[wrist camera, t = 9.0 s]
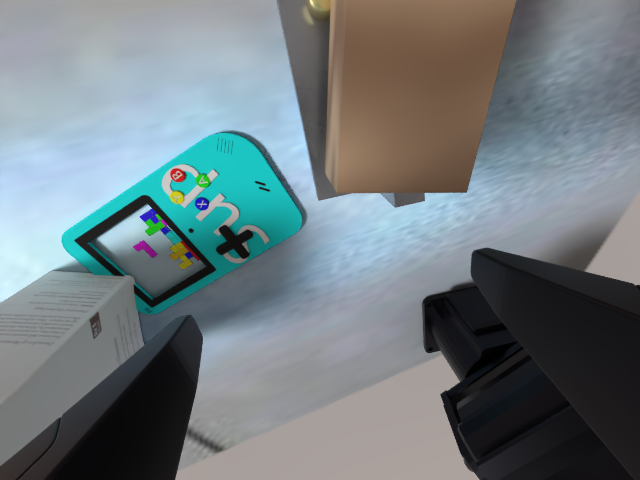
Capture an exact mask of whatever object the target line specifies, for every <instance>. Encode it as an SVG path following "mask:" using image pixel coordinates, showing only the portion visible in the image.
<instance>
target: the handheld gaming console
mask: <svg viewBox="0 0 640 480" xmlns="http://www.w3.org/2000/svg"><path fill="white" fill-rule="evenodd" d="M146 203H148V204H149V206H150V207H151V208H152V209H151V210H149V211H147V212H146V213H144V214H143V215H141V216H140V218H141V219H142V220H143V221H144V222H145V223H146V224H147V225H148V226H149V227H150V228H148V229H147V230H145V232H146V233H147V234H148V235H149V236H151V235H152V234H154V233H155V232H157V231H159V230H161V231H162V232H163V233H164V234H165V235H166V236H167V237H168V238H169V239H171V242H172V243H173V244H174V246H172V247H170V249H171V250H172V251H173V252H174V253H173V254H171V255H170V257H171V258H172V259H173V260H176V259H177V258H180V259H181V260H182V261H183V263H181V264H179V266H180V267H181V268H182V269H185V268H187V267H188V266H190V265H192V264H193V263H192V262H191V261H190V260H189V259H190V258H191V257H193V256H194V257H195V258H196V259H197V260H198V261H199V260H201V261H202V262H203V263H204V264H205V265H206V266H207V267H205V268H203V269H202V270H200V271H198V272H197V273H195V274H194V275H192V276H190V277H189V278H187V279H186V280H184V281H182V282H181V283H179V284H177V285H176V286H174V287H173V288H171V289H169V290H168V291H166V292H165V293H163V294H161V295H160V296H158V297H156V298H155V299H154V298H153V297H151V296H150V295H149V294H148V293H147V292H146V291H145V290H144V289H142V288H141V287H140V286H139V285H138V284H137V283H136V282H135V285H134V284H133V285H134V294H135V301H136V308H137V311H139V312H141V313H144V314H149V315H152V314H158V313H160V312H162V311H163V310H165V309H167V308H168V307H170V306H172V305H174V304H175V303H177V302H179V301H181V300H182V299H184V298H186V297H187V296H189V295H191V294H193V293H194V292H196V291H198V290H199V289H201V288H203V287H205V286H206V285H208V284H210V283H211V282H213V281H215V280H217V279H218V278H220V277H222V276H223V275H225V274H227V273H229V272H230V271H232V270H234V269H235V268H237V267H239V266H241V265H242V264H244V263H246V262H247V261H249V260H251V259H253V258H254V257H256V256H258V255H259V254H261V253H263V252H265V251H266V250H268V249H270V248H271V247H273V246H275V245H277V244H278V243H280V242H282V241H283V240H285V239H287V238H289V237H290V236H292V235H294V234H295V233H297V232H298V230H299V229H300V227H301V225H302V216H301V212H300V210H299V209H298V207H297V206H296V204H295V203H294V201H293V200H292V198H291V197H290V195H289V194H288V192H287V191H286V189H285V188H284V186H283V185H282V183H281V182H280V180H279V179H278V177H277V176H276V174H275V172H274V171H273V169H272V168H271V166H270V165H269V163H268V162H267V160H266V159H265V157H264V156H263V154H262V153H261V151H260V150H259V149H258V148H257V147H256V146H255V145H254V144H253V143H252V142H251V141H249V140H248V139H246V138H244V137H242V136H240V135H237V134H232V133H217V134H213V135H210V136H208V137H206V138H204V139H202V140H201V141H199V142H198V143H196V144H195V145H193V146H192V147H190V148H189V149H187V150H186V151H184V152H183V153H181V154H180V155H178V156H177V157H176V158H174V159H173V160H171V161H170V162H168V163H167V164H165V165H164V166H162V167H161V168H159V169H158V170H156V171H155V172H153V173H152V174H150V175H149V176H147V177H146V178H144V179H143V180H141V181H140V182H138V183H137V184H135V185H134V186H132V187H131V188H129V189H128V190H126V191H125V192H123V193H122V194H120V195H119V196H117V197H116V198H114V199H113V200H111V201H110V202H108V203H107V204H105V205H104V206H102V207H101V208H99V209H98V210H96V211H95V212H94V213H92V214H91V215H89V216H88V217H86V218H85V219H83V220H82V221H80V222H79V223H77V224H76V225H74V226H73V227H71V228H70V229H68V230H67V231H66V232H64V234H63V235H62V244H63V247H64V248H65V250H66V251H67V252H68V253H69V254H70V255H71V256H73V257H74V258H75V259H76V260H77V261H79V262H80V263H81V264H82V265H83V266H85V267H86V268H87V269H88V270H89V271H90V272H92V273H93V274H94V275H108V276H125V275H127V274H126V273H124V272H123V271H122V270H121V269H120V268H119V267H118V266H117V265H115V264H114V263H113V262H112V261H111V260H110V259H109V258H108V257H106V256H105V255H104V254H103V253H102V252H101V251H100V250H99V249H97V248H96V247H95V246H94V245H93V244H92V243H91V242H90V241H91V240H93V239H94V238H96V237H97V236H99V235H100V234H102V233H103V232H105V231H106V230H108V229H109V228H110V227H112V226H113V225H115V224H116V223H118V222H119V221H121V220H122V219H124V218H125V217H127V216H128V215H130V214H131V213H133V212H134V211H136V210H137V209H139V208H140V207H142V206H143V205H145V204H146ZM167 225H168V226H169V227H170V228H171V229H172V231H170V230H169V229H168V228H167V227H166V226H167ZM133 247H134V248H135V249H136V250H137V251H140V250H142V249H144V250H145V251H146V252H147V253H148V254H149V255H150V256H151V257H152V258H153V257H155V256H156V255H158V254H157V253H156V252H155V251H154V250H153V249H152V248H151V247H150V246H149V245H148V244H146V243H145V242H144V241H141V242H140V243H138V244H137V245H135V246H133Z"/></svg>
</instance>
